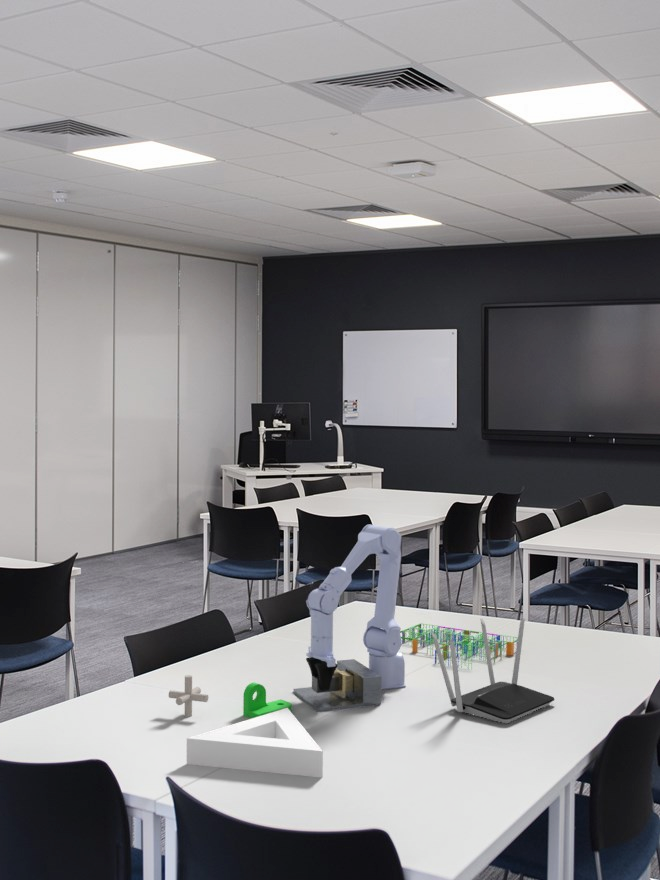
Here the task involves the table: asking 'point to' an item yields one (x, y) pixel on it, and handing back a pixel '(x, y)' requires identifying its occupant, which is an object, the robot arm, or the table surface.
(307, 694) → the block
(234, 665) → the table surface
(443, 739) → the table surface
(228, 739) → the triangle block
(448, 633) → the piping system model
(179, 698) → the pipe connector
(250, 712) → the mechanical part
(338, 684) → the grey and tan block
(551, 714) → the table surface
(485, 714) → the wireless router
